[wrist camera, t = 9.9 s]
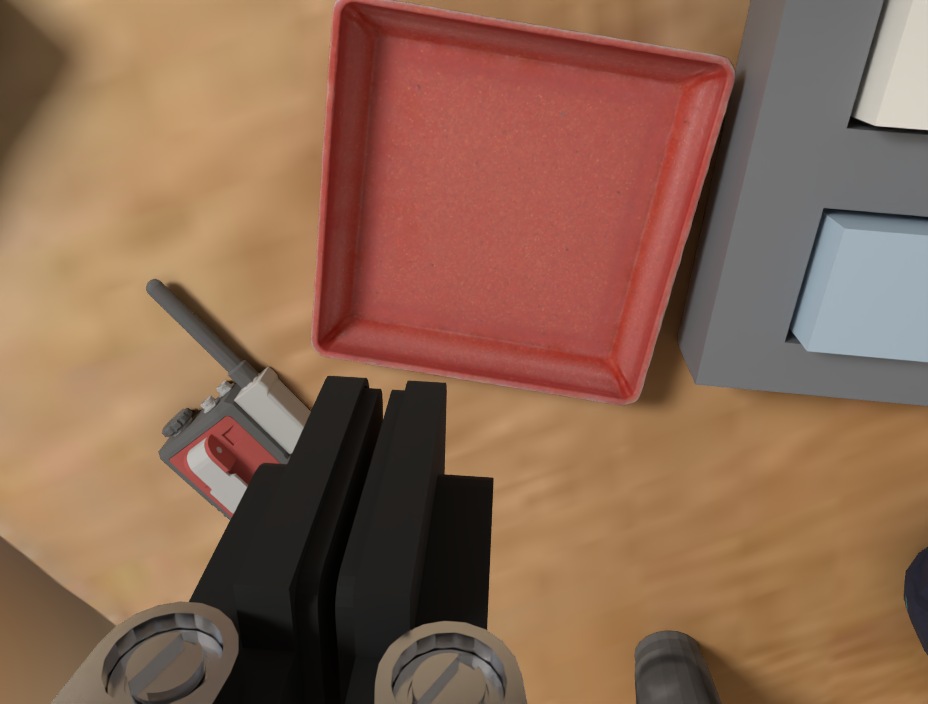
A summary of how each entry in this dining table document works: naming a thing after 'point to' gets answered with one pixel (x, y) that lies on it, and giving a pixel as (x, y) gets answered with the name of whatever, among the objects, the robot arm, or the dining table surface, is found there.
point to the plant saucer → (506, 196)
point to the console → (795, 203)
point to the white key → (896, 68)
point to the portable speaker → (918, 596)
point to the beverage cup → (672, 671)
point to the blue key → (866, 287)
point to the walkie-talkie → (228, 419)
